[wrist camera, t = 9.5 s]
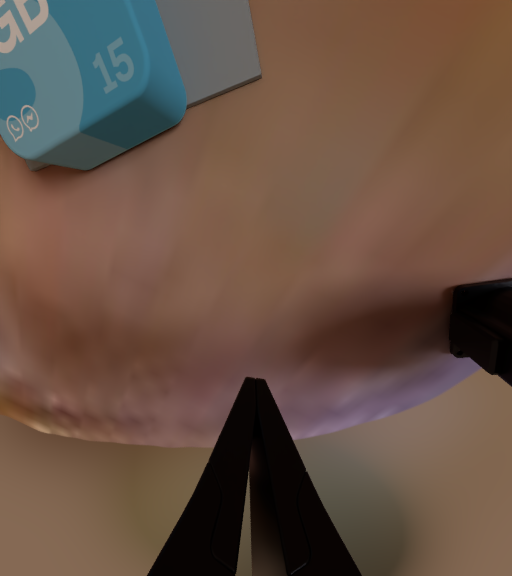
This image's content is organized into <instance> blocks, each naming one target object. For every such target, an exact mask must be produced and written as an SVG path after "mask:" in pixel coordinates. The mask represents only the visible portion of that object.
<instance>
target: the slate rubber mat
mask: <svg viewBox="0 0 512 576" xmlns="http://www.w3.org/2000/svg"><path fill="white" fill-rule="evenodd" d="M155 1H156V4H157V7H158V10H159V13H160V16H161V19H162V22H163V25H164V28H165V31H166V34H167V37H168V40H169V43H170V46H171V49H172V52H173V55H174V57H175V60H176V63H177V66H178V69H179V72H180V75H181V78H182V81H183V84H184V87H185V91H186V95H187V107H186V109H187V108H190V107H192V106H194V105H197V104H199V103H202V102H204V101H207V100H209V99H211V98H214V97H216V96H219V95H221V94H224V93H226V92H228V91H231V90H233V89H236V88H238V87H241V86H243V85H245V84H248V83H250V82H253V81H255V80H258V79H260V78H262V75H261V70H260V64H259V58H258V53H257V47H256V41H255V36H254V30H253V24H252V19H251V13H250V8H249V2H248V0H155ZM25 161H26V163H27V165H28V167H29V169H30V170H31V171H37V170H39V169H42V168H44V167H47V166H49V165H51V164H48V163H43V162H37V161H32V160H27V159H25Z"/></svg>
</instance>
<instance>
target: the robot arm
mask: <svg viewBox="0 0 512 576" xmlns="http://www.w3.org/2000/svg"><path fill="white" fill-rule="evenodd" d="M464 290H465V292H464V293H463V294H461V292H462V291H464ZM449 340H450V352H451V354H453V355H454V356H455V357H457V358H463V357H470V358H471V359H472V360H473V361H475V362H476V363H477V364H478V365H479V366H481V367H482V368H483V369H484V370H485V371H487V372H488V373H489V374H491V375H498V376H499V377H501V378H502V379H503V380H504V381H505V382H507V383H508V384H509V385H510V386H512V279H506V280H499V281H491V282H483V283H476V284H468V285H461V286H458V287H456V288H455V290H454V292H453V308H452V313H451V315H450V331H449ZM459 350H460V351H459ZM457 351H459V352H457ZM248 472H249V482H250V517H251V518H250V519H251V555H252V576H362V575H361V573H360V571H359V569H358V568H357V566H356V564H355V562H354V561H353V559H352V557H351V555H350V553H349V552H348V550H347V548H346V546H345V544H344V543H343V541H342V539H341V537H340V535H339V533H338V532H337V530H336V528H335V526H334V524H333V523H332V521H331V519H330V517H329V515H328V513H327V512H326V509H325V508H324V506H323V504H322V502H321V500H320V498H319V496H318V494H317V491H316V489H315V487H314V486H313V483H312V481H311V479H310V477H309V474H308V472H306V468H305V466H304V464H303V461H302V459H301V457H300V455H299V453H298V451H297V449H296V446H295V444H294V442H293V439H292V437H291V435H290V433H289V431H288V429H287V426H286V424H285V422H284V420H283V418H282V415H281V413H280V411H279V409H278V407H277V404H276V402H275V400H274V398H273V396H272V393H271V391H270V389H269V387H268V385H267V383H266V381H265V379H260V378H256V379H255V378H252V377H246V378H245V380H244V382H243V384H242V386H241V389H240V391H239V393H238V395H237V398H236V400H235V402H234V404H233V407H232V409H231V411H230V413H229V416H228V418H227V420H226V422H225V425H224V427H223V429H222V431H221V434H220V436H219V438H218V440H217V443H216V445H215V447H214V449H213V452H212V454H211V456H210V458H209V461H208V463H207V465H206V467H205V469H204V472H203V474H202V476H201V478H200V480H199V482H198V484H197V486H196V489H195V491H194V493H193V495H192V497H191V498H190V500H189V502H188V504H187V506H186V508H185V510H184V511H183V513H182V515H181V517H180V519H179V520H178V522H177V524H176V526H175V527H174V529H173V531H172V533H171V534H170V536H169V538H168V540H167V541H166V543H165V545H164V547H163V548H162V550H161V552H160V554H159V556H158V557H157V559H156V561H155V562H154V564H153V566H152V568H151V569H150V571H149V573H148V575H147V576H235V574H236V570H237V562H238V554H239V545H240V537H241V529H242V521H243V512H244V505H245V496H246V487H247V480H248Z"/></svg>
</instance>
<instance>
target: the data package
mask: <svg viewBox="0 0 512 576" xmlns="http://www.w3.org/2000/svg"><path fill="white" fill-rule="evenodd" d="M186 107H187V95H186V91H185V87H184V84H183V81H182V78H181V75H180V72H179V69H178V66H177V63H176V60H175V57H174V55H173V52H172V49H171V46H170V43H169V40H168V37H167V34H166V31H165V28H164V25H163V22H162V19H161V16H160V13H159V10H158V7H157V4H156V1H155V0H0V135H1V137H2V138H3V140H4V142H5V143H6V144H7V146H8V147H9V148H10V149H11V150H12V151H13V152H14V153H15V154H17V155H18V156H20V157H22V158H24V159H27V160H32V161H37V162H43V163H48V164H53V165H59V166H64V167H69V168H74V169H80V170H90V169H92V168H94V167H96V166H98V165H100V164H102V163H104V162H105V161H107V160H109V159H111V158H113V157H115V156H117V155H119V154H121V153H123V152H125V151H127V150H129V149H130V148H132V147H134V146H136V145H138V144H140V143H142V142H144V141H146V140H148V139H150V138H152V137H153V136H155V135H157V134H159V133H161V132H163V131H165V130H167V129H169V128H171V127H173V126H175V125H176V124H178V123H179V122H180V121H181V120H182V118H183V116H184V114H185V111H186Z"/></svg>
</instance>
